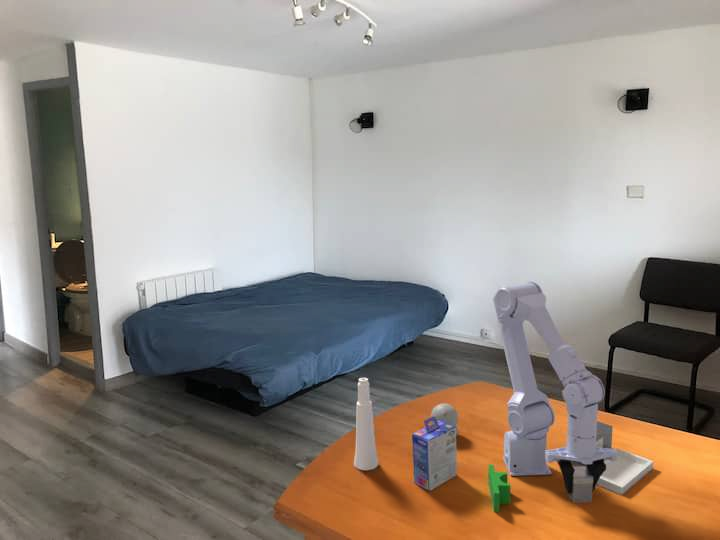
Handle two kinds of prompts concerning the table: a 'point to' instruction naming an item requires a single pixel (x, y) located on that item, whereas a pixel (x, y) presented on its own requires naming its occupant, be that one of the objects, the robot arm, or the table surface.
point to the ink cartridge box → (434, 454)
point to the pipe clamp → (498, 488)
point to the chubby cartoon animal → (445, 414)
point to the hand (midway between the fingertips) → (579, 490)
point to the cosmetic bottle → (365, 430)
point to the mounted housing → (600, 439)
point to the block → (581, 485)
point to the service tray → (624, 471)
